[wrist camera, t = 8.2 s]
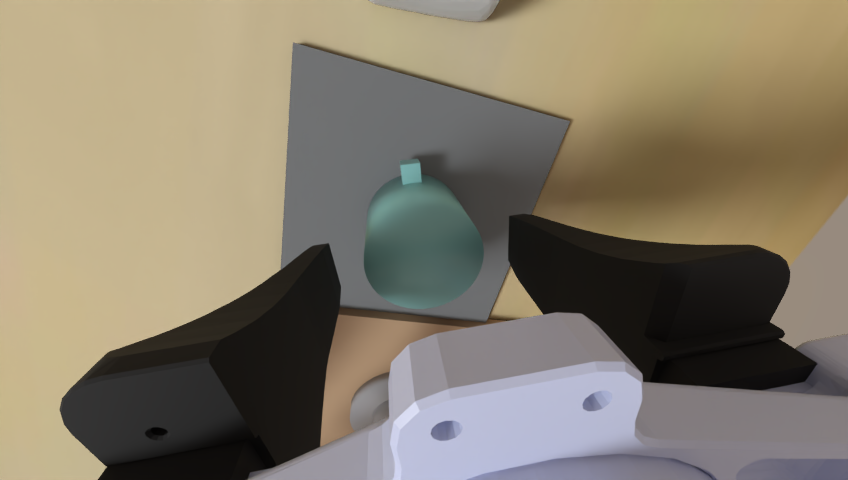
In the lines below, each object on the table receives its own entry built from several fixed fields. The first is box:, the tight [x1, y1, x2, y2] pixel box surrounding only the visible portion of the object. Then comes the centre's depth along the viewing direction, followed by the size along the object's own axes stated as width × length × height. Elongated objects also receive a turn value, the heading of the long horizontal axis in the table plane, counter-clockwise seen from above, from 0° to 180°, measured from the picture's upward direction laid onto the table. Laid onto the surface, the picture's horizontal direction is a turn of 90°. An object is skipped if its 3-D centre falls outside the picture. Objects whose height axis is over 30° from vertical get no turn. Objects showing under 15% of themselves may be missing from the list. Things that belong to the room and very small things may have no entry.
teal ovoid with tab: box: [364, 159, 484, 309], centre depth 13 cm, size 6×5×4 cm
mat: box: [281, 43, 570, 323], centre depth 15 cm, size 12×12×1 cm
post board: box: [320, 307, 505, 447], centre depth 20 cm, size 14×14×3 cm
